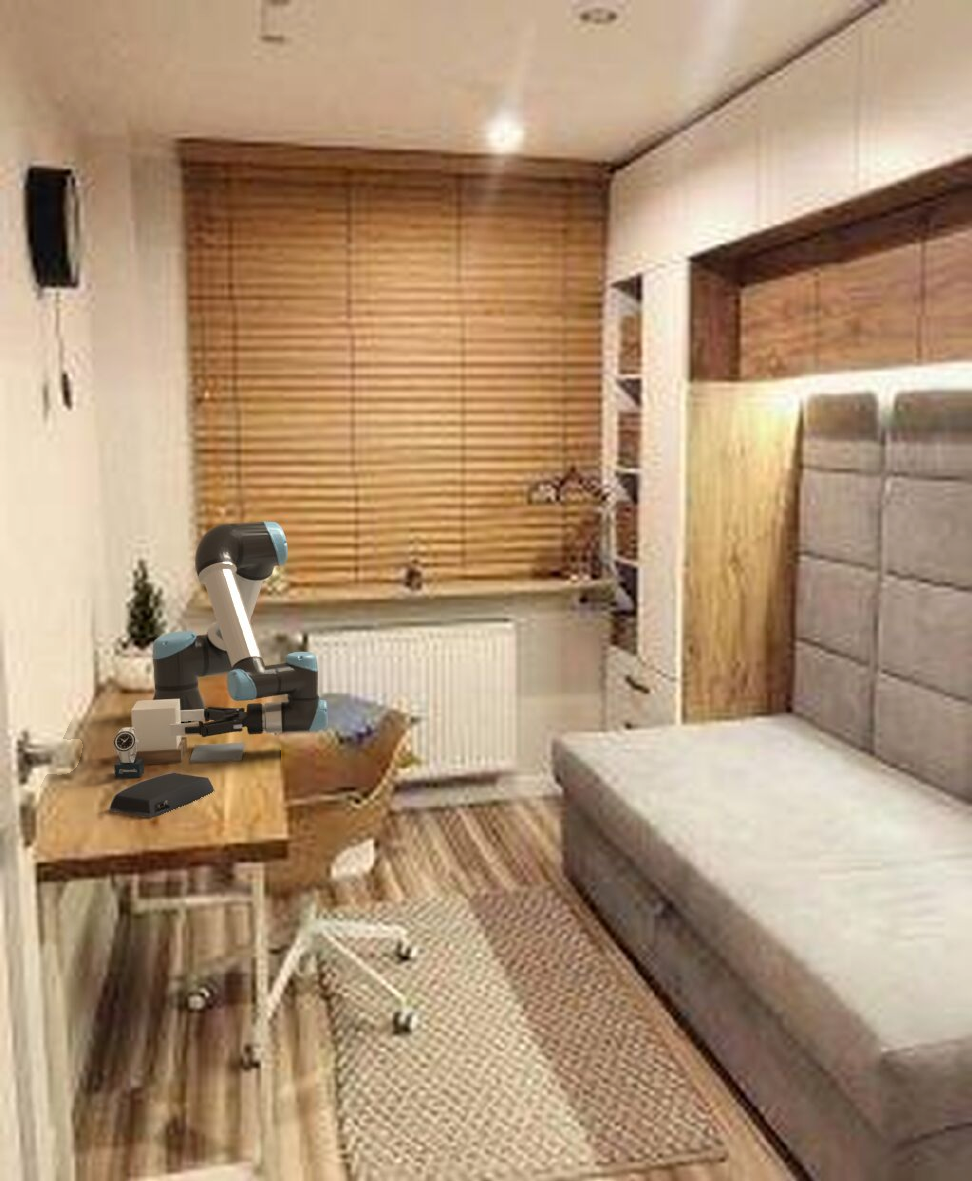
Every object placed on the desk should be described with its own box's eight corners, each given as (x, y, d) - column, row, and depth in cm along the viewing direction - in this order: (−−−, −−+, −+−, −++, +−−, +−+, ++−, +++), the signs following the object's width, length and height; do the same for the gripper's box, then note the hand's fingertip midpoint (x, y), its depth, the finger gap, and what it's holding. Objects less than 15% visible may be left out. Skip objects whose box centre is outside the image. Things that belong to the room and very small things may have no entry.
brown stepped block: (136, 751, 275) (135, 727, 274) (186, 748, 277) (185, 725, 276) (129, 765, 263) (127, 740, 262) (181, 762, 265) (180, 737, 264)
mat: (195, 747, 278) (195, 745, 278) (244, 744, 280) (244, 742, 280) (189, 763, 264) (189, 760, 264) (241, 760, 266) (241, 757, 266)
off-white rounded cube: (139, 740, 274) (137, 700, 272) (181, 738, 275) (179, 698, 274) (133, 751, 264) (131, 710, 263) (176, 749, 265) (174, 708, 264)
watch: (112, 780, 251) (110, 733, 250) (121, 770, 259) (118, 724, 258) (138, 780, 251) (135, 732, 250) (146, 769, 259) (143, 723, 258)
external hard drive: (106, 812, 231) (104, 793, 230) (171, 786, 248) (170, 768, 248) (153, 821, 225) (152, 801, 225) (217, 794, 242) (216, 775, 242)
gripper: (262, 746, 260) (168, 752, 257) (265, 721, 285) (180, 725, 281) (261, 715, 259) (167, 720, 256) (264, 692, 284) (178, 696, 280)
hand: (173, 723), depth 269 cm, fingers open, 13 cm apart
